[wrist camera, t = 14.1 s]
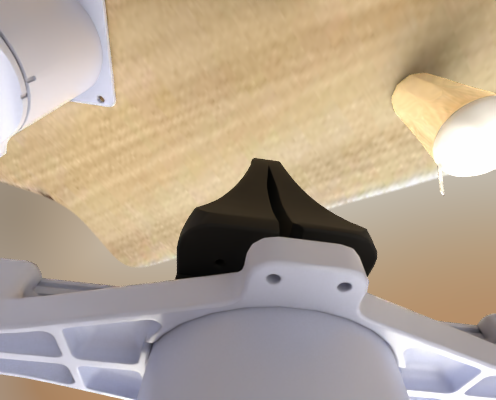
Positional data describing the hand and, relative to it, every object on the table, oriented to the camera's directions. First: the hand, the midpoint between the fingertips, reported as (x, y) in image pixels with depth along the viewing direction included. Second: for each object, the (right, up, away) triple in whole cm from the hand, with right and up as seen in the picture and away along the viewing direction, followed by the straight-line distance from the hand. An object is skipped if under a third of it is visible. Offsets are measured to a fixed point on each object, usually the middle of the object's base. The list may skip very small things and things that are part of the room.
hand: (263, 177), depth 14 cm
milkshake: (+11, +7, +8) cm, 16 cm away
